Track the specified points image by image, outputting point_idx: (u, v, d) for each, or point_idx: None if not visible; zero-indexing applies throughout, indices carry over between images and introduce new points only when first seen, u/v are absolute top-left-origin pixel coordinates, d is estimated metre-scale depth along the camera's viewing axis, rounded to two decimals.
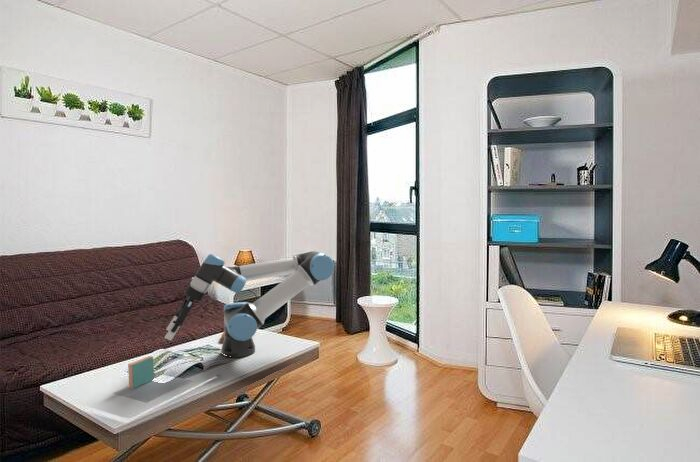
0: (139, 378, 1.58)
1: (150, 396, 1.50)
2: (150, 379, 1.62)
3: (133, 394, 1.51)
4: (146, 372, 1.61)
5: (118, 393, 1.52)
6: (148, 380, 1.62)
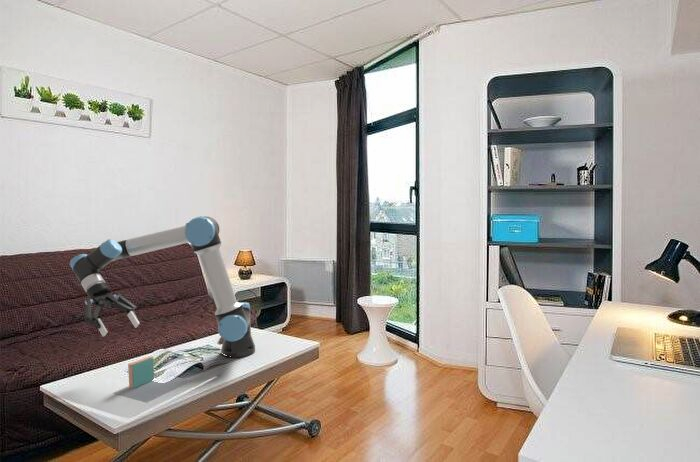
0: (139, 378, 1.58)
1: (150, 396, 1.50)
2: (150, 379, 1.62)
3: (133, 394, 1.51)
4: (146, 372, 1.61)
5: (118, 393, 1.52)
6: (148, 380, 1.62)
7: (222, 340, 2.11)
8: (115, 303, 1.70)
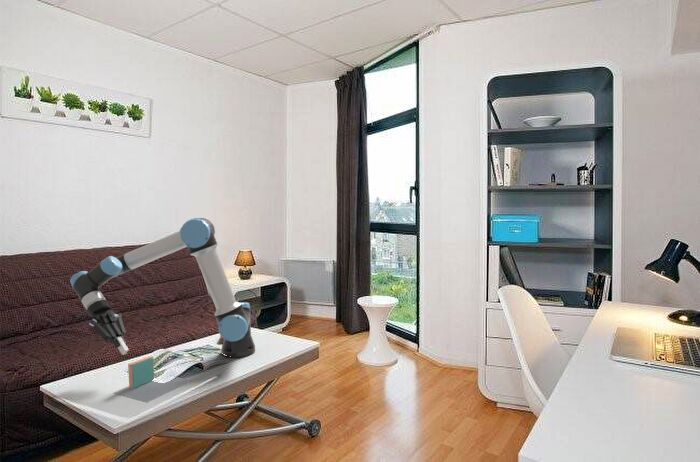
0: (139, 378, 1.58)
1: (150, 396, 1.50)
2: (150, 379, 1.62)
3: (133, 394, 1.51)
4: (146, 372, 1.61)
5: (118, 393, 1.52)
6: (148, 380, 1.62)
7: (221, 340, 2.10)
8: (110, 322, 1.67)
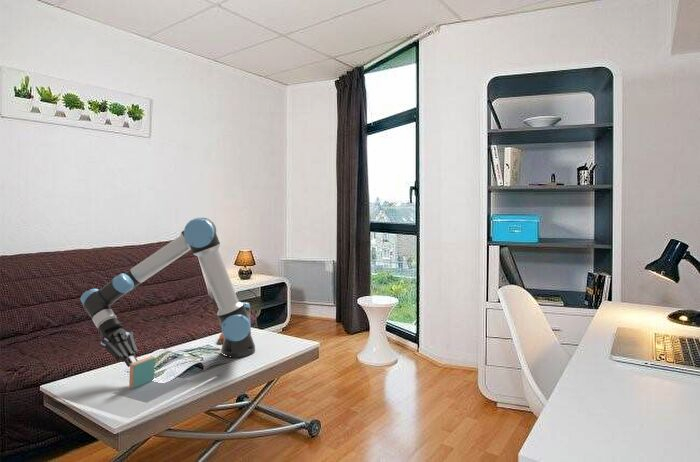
0: (140, 378, 1.58)
1: (150, 396, 1.50)
2: (150, 379, 1.62)
3: (133, 394, 1.51)
4: (147, 372, 1.61)
5: (118, 393, 1.52)
6: (148, 380, 1.62)
7: (220, 341, 2.10)
8: (122, 341, 1.65)
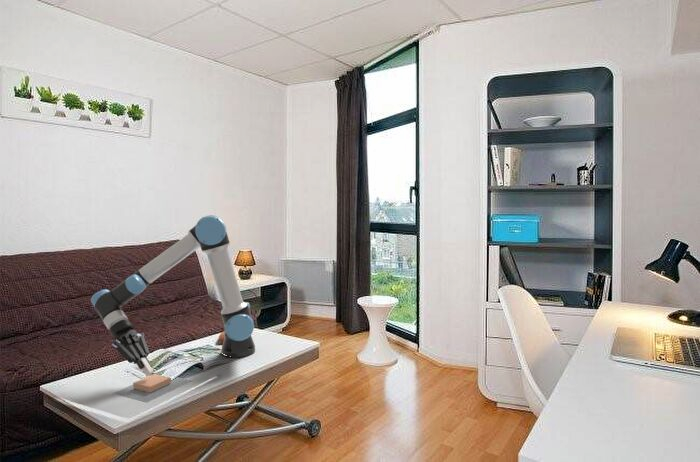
0: None
1: (150, 396, 1.50)
2: None
3: (133, 394, 1.51)
4: None
5: (118, 393, 1.52)
6: None
7: (220, 341, 2.09)
8: (134, 343, 1.62)
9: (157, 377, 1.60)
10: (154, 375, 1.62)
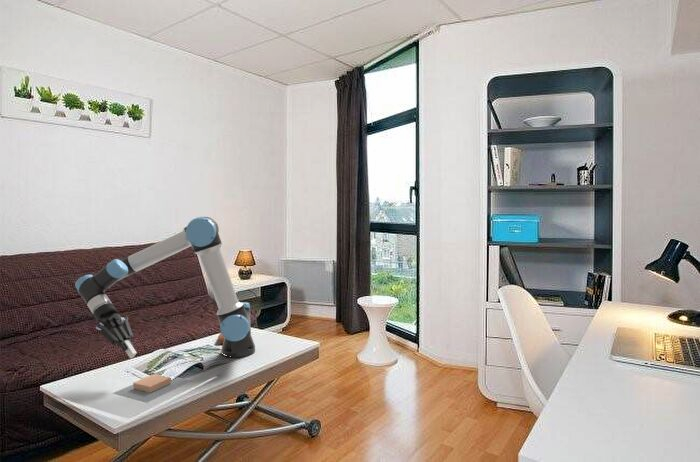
0: None
1: (150, 396, 1.50)
2: None
3: (133, 394, 1.51)
4: None
5: (118, 393, 1.52)
6: None
7: (219, 341, 2.09)
8: (117, 326, 1.66)
9: (157, 377, 1.60)
10: (154, 375, 1.62)
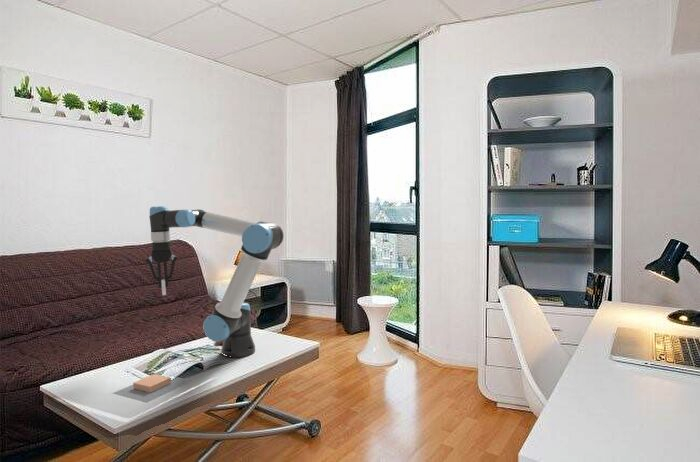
0: None
1: (150, 396, 1.50)
2: None
3: (133, 394, 1.51)
4: None
5: (118, 393, 1.52)
6: None
7: (218, 342, 2.08)
8: None
9: (157, 377, 1.60)
10: (154, 375, 1.62)
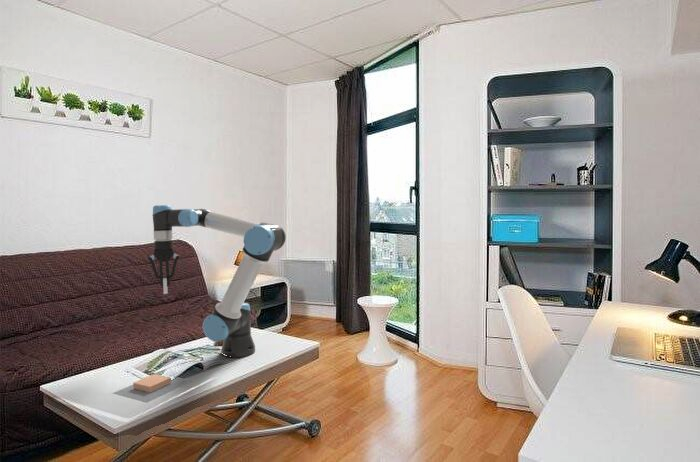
0: None
1: (150, 396, 1.50)
2: None
3: (133, 394, 1.51)
4: None
5: (118, 393, 1.52)
6: None
7: (218, 342, 2.08)
8: None
9: (157, 377, 1.60)
10: (154, 375, 1.62)
